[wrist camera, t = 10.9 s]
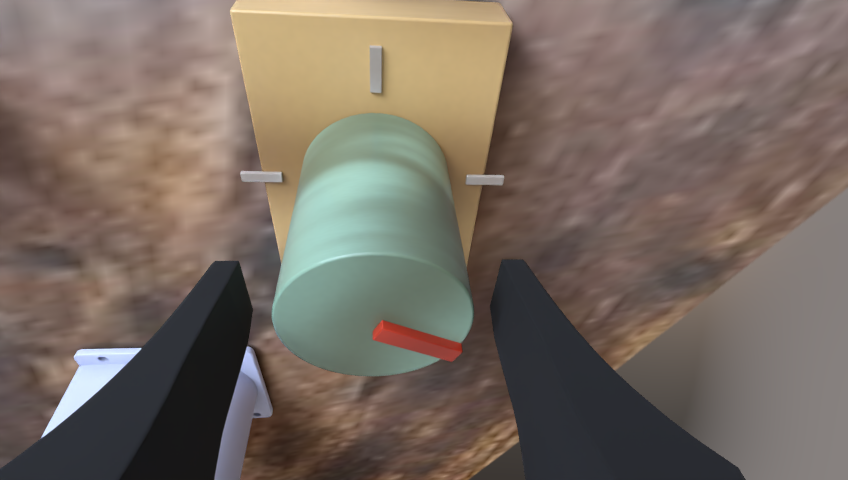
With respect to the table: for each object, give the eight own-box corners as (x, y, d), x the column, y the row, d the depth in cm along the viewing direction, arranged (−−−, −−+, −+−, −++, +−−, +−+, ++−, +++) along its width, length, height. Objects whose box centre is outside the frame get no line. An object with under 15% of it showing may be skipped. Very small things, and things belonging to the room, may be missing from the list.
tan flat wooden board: (473, 247, 22) (480, 280, 21) (275, 247, 21) (266, 282, 20) (522, 3, 15) (539, 26, 13) (219, -14, 14) (199, 9, 12)
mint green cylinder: (281, 201, 17) (242, 361, 12) (339, 84, 14) (318, 232, 9) (403, 247, 19) (412, 400, 14) (475, 153, 16) (518, 304, 11)
